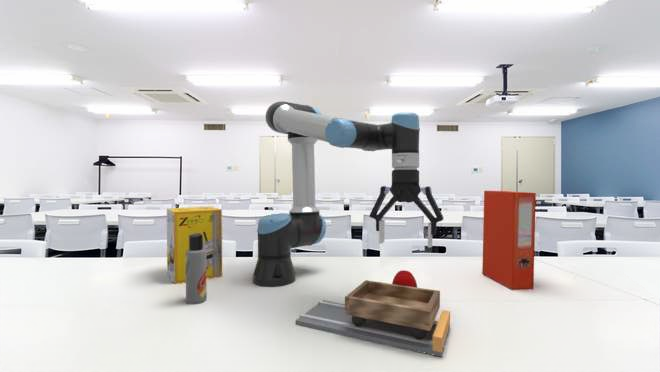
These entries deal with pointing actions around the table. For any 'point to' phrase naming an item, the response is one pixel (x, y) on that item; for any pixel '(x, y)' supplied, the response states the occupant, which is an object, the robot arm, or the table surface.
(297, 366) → the table surface
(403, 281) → the light bulb
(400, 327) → the track
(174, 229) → the packaging box
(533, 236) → the file binder
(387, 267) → the table surface
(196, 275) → the lotion bottle
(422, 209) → the robot arm
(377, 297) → the tray
